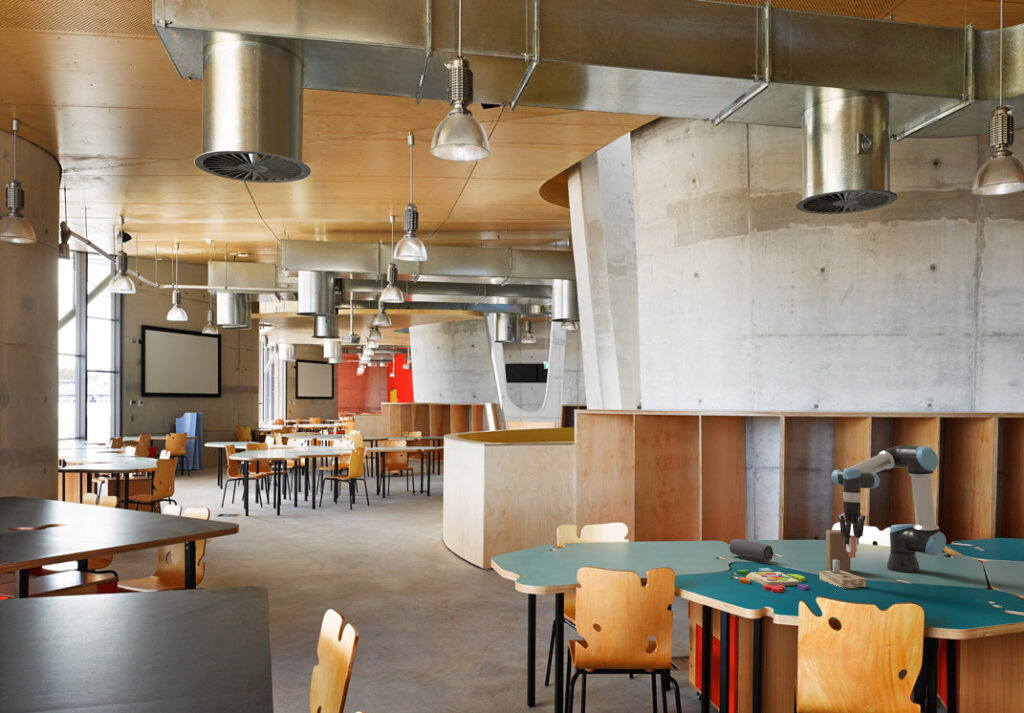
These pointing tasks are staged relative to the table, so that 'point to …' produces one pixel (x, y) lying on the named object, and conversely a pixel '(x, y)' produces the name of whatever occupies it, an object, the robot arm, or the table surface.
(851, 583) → the hole block
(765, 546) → the bluetooth speaker
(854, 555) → the red peg
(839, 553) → the wooden block
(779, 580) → the pattern blocks set
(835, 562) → the grey peg
